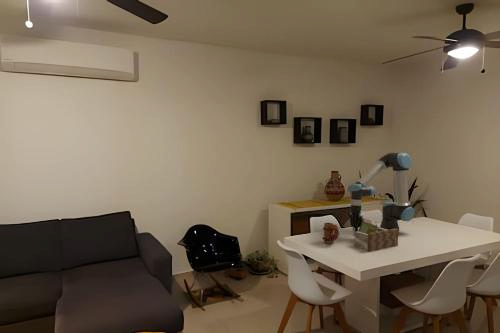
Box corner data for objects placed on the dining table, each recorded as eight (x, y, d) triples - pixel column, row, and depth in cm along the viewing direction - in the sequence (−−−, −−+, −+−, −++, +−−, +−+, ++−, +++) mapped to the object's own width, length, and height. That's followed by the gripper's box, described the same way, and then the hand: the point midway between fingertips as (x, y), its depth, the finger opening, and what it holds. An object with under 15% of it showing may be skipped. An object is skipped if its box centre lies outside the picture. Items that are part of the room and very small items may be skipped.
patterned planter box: (381, 240, 257) (381, 224, 256) (397, 245, 244) (398, 229, 243) (353, 246, 243) (353, 229, 242) (369, 251, 231) (370, 234, 230)
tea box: (372, 245, 245) (378, 225, 244) (357, 241, 248) (363, 221, 246) (370, 239, 260) (375, 221, 258) (356, 235, 262) (362, 217, 260)
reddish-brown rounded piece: (320, 241, 254) (320, 221, 253) (329, 240, 257) (329, 220, 256) (332, 247, 240) (332, 225, 239) (341, 246, 244) (342, 224, 243)
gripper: (346, 203, 262) (345, 234, 264) (358, 206, 251) (357, 238, 252) (353, 203, 266) (352, 233, 267) (366, 205, 254) (365, 237, 256)
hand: (355, 236), depth 260 cm, fingers closed
